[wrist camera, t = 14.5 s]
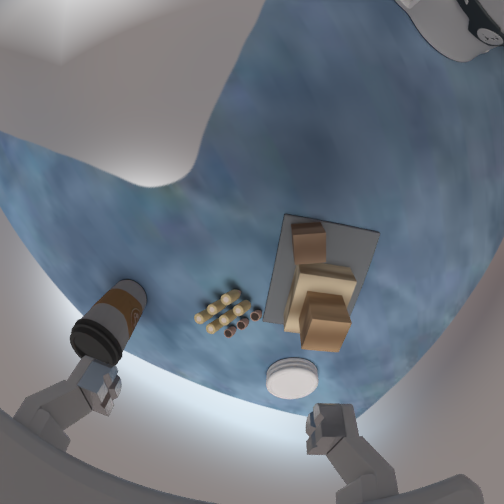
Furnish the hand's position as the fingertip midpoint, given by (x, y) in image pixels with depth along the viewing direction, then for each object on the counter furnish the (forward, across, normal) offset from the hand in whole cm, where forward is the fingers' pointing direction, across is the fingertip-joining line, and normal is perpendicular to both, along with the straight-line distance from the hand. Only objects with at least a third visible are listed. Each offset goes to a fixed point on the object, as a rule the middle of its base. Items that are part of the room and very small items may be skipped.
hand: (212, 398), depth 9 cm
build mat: (+29, -11, +10) cm, 33 cm away
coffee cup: (+29, +19, +19) cm, 40 cm away
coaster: (+30, -12, +32) cm, 45 cm away
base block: (+28, -11, +12) cm, 33 cm away
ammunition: (+30, +1, +17) cm, 34 cm away
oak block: (+24, -11, +12) cm, 29 cm away
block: (+28, -8, +3) cm, 30 cm away
